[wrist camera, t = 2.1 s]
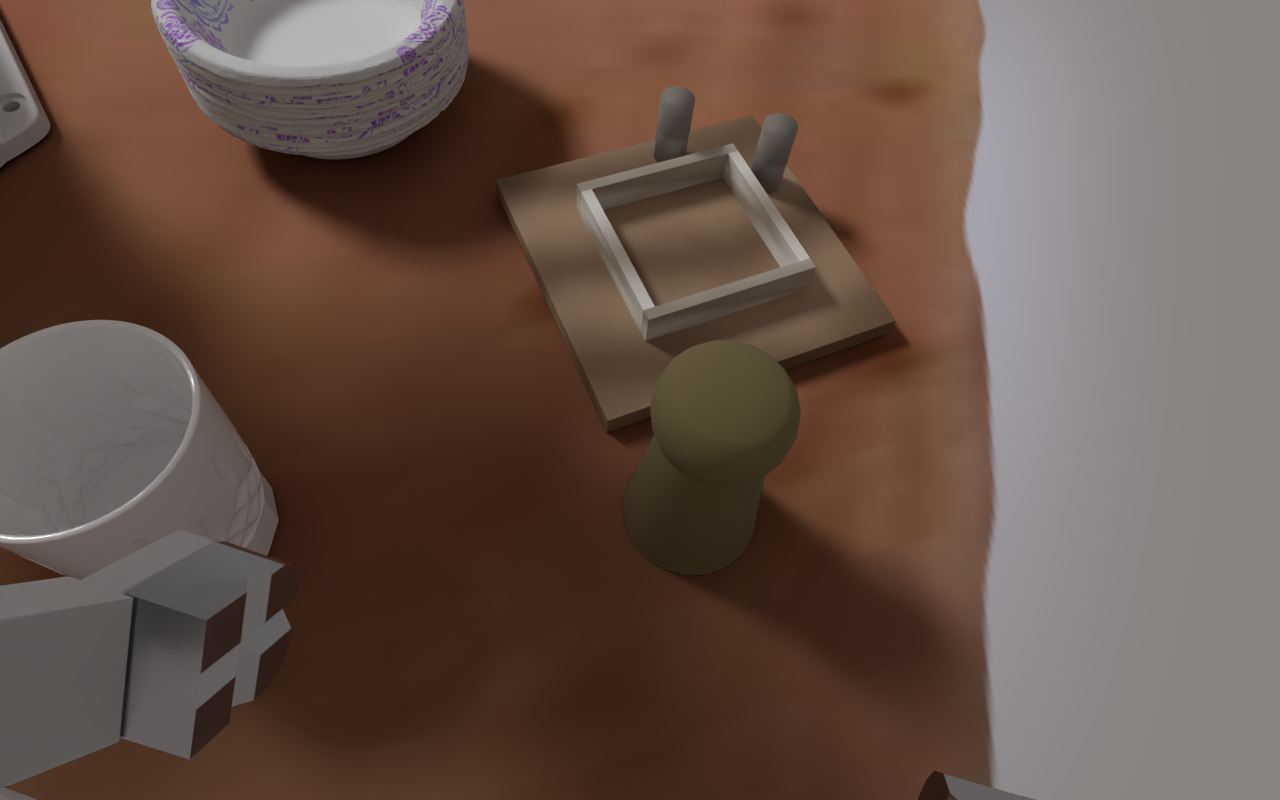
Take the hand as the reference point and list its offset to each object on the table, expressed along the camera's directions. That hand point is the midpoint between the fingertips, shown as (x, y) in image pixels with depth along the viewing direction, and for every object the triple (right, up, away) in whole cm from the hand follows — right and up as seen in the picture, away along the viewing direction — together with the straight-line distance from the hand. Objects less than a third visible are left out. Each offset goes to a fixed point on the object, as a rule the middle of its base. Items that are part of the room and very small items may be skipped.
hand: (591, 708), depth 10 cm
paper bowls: (-17, +21, +37) cm, 46 cm away
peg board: (+3, +11, +33) cm, 35 cm away
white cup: (-18, -2, +24) cm, 30 cm away
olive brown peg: (+3, -1, +26) cm, 26 cm away
